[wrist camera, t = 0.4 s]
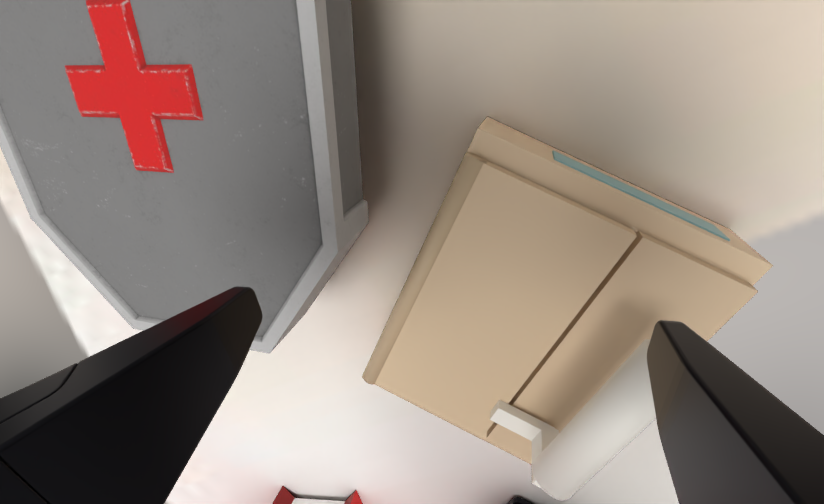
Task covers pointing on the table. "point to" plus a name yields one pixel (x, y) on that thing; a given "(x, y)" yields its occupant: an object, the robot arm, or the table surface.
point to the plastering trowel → (510, 320)
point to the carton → (620, 279)
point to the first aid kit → (187, 147)
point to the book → (285, 500)
